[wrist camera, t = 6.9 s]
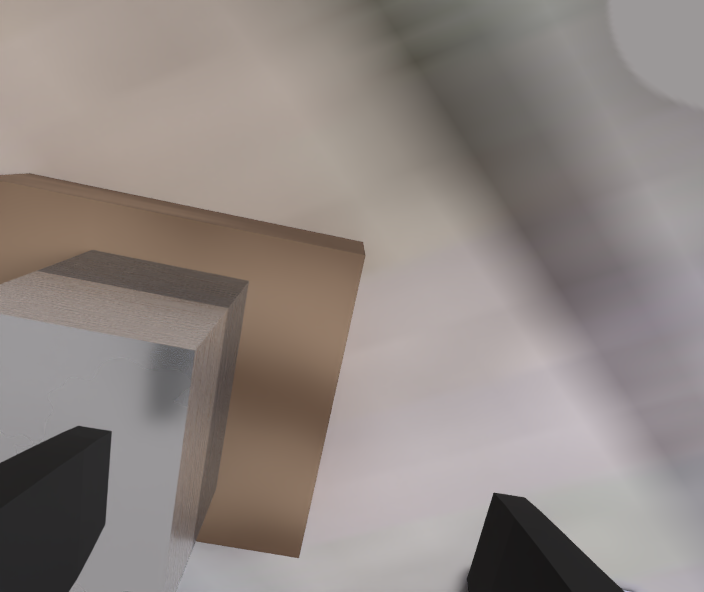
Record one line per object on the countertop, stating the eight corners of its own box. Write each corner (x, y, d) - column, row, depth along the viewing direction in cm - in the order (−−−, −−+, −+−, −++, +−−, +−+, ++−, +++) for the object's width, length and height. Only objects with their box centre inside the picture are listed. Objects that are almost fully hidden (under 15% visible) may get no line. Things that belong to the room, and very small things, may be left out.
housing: (216, 489, 18) (155, 642, 13) (77, 465, 18) (-50, 611, 12) (249, 280, 16) (195, 350, 10) (92, 249, 16) (-52, 303, 10)
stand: (304, 513, 22) (298, 558, 19) (18, 464, 21) (-24, 505, 18) (363, 242, 18) (365, 255, 16) (29, 173, 18) (-21, 176, 15)
